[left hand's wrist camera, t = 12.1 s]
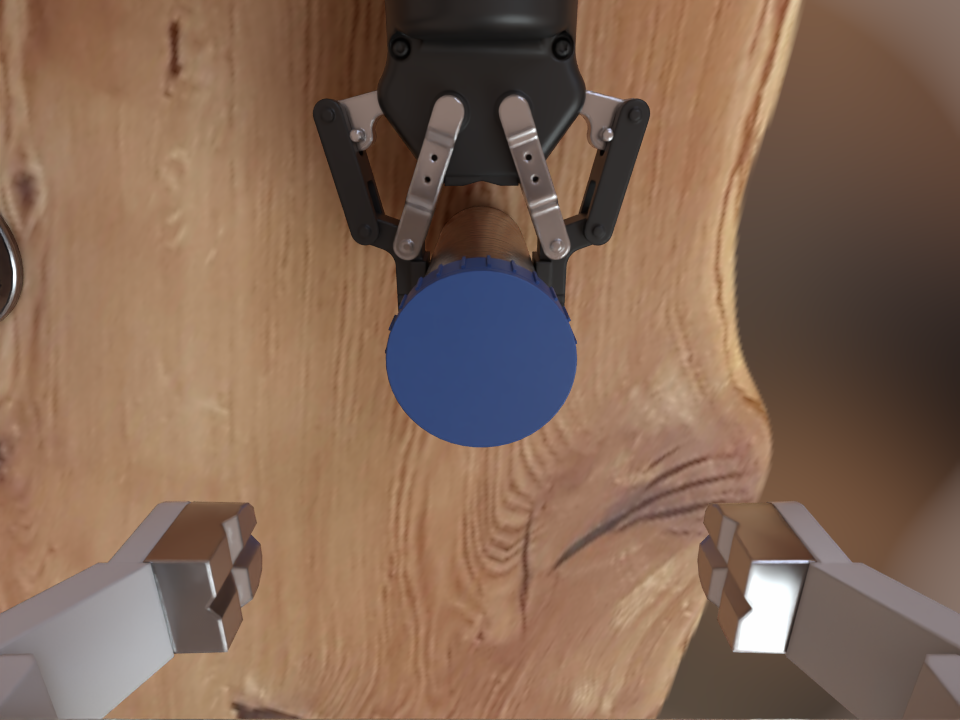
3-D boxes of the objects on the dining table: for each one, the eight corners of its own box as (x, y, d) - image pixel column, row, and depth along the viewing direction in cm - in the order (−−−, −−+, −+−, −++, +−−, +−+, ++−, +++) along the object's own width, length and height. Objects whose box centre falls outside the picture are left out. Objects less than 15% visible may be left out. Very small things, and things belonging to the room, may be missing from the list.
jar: (535, 278, 34) (579, 405, 19) (453, 304, 34) (433, 446, 19) (510, 193, 32) (535, 259, 17) (424, 222, 33) (377, 310, 18)
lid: (590, 395, 20) (599, 420, 18) (427, 442, 21) (423, 470, 19) (543, 230, 18) (548, 241, 16) (364, 287, 19) (352, 304, 17)
